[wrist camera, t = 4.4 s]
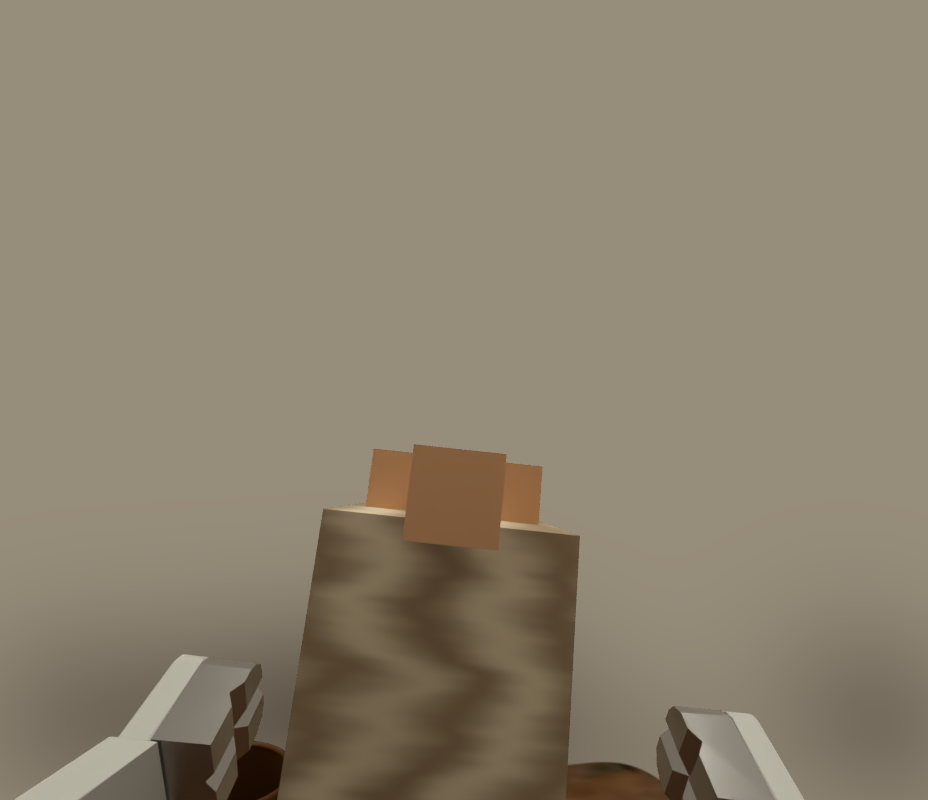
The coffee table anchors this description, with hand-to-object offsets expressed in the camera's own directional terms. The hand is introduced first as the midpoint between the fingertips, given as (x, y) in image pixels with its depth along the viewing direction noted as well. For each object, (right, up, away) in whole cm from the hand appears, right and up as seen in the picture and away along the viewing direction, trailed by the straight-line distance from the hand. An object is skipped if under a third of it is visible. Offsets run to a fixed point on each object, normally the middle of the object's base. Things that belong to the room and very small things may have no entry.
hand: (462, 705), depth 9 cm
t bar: (-1, -1, +16) cm, 16 cm away
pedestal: (-3, -27, +17) cm, 32 cm away
